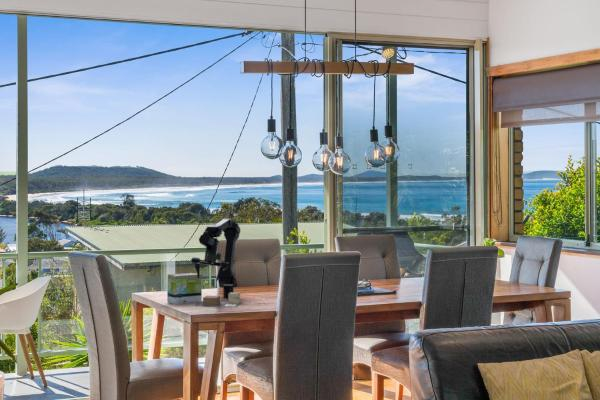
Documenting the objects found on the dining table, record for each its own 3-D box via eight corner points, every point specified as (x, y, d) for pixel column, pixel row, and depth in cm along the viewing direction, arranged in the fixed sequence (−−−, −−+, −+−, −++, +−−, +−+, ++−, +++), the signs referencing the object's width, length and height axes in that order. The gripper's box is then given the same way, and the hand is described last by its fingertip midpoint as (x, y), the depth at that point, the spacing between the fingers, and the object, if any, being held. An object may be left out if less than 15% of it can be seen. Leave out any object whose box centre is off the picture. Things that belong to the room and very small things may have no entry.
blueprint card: (227, 304, 424) (227, 303, 424) (237, 304, 424) (237, 303, 424) (224, 306, 418) (224, 305, 418) (234, 306, 418) (234, 305, 418)
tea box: (176, 305, 428) (175, 275, 427) (167, 302, 436) (166, 274, 435) (202, 302, 436) (202, 273, 436) (192, 300, 445) (192, 272, 444)
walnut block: (206, 303, 428) (206, 295, 427) (220, 303, 427) (220, 295, 426) (203, 305, 421) (203, 297, 421) (216, 305, 420) (216, 297, 419)
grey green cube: (230, 302, 432) (230, 292, 432) (240, 302, 431) (240, 292, 431) (228, 303, 427) (228, 293, 427) (238, 303, 426) (238, 293, 426)
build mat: (202, 302, 436) (202, 301, 436) (243, 303, 432) (243, 301, 432) (193, 307, 420) (193, 305, 420) (236, 307, 417) (236, 306, 416)
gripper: (194, 243, 418) (190, 274, 414) (232, 249, 422) (228, 279, 418) (192, 248, 429) (188, 278, 424) (228, 253, 433) (225, 283, 428)
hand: (207, 280), depth 423 cm, fingers open, 9 cm apart
